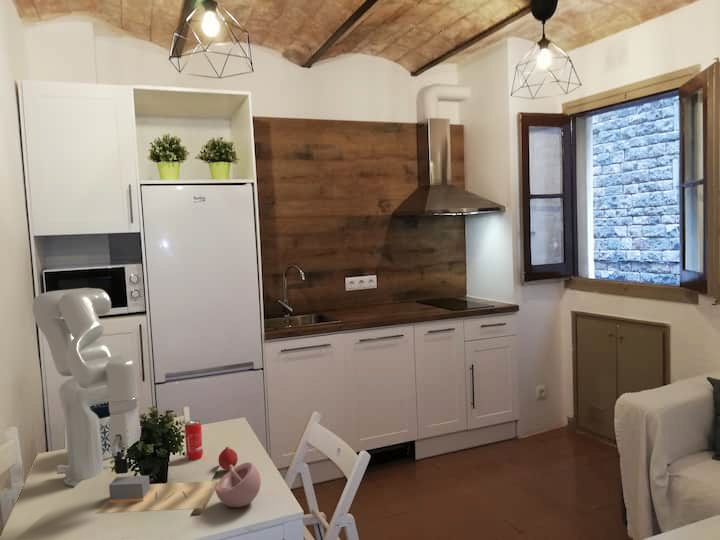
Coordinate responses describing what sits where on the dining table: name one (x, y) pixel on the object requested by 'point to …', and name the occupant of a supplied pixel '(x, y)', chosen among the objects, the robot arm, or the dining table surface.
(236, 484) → the mortar and pestle
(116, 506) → the oak board
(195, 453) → the beverage can
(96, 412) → the planter
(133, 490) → the block
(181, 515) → the dining table surface
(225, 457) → the pomegranate
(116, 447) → the robot arm
